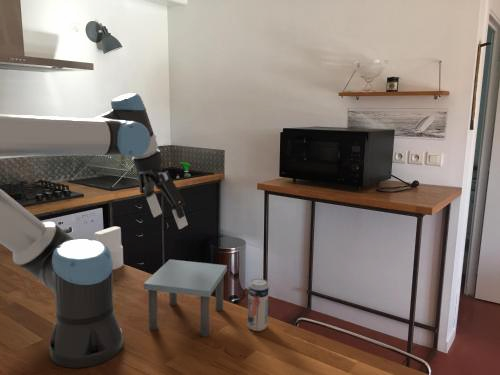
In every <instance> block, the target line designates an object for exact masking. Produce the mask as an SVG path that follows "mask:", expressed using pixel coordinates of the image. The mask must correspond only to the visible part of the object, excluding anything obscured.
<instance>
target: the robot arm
mask: <svg viewBox="0 0 500 375" xmlns="http://www.w3.org/2000/svg"><path fill="white" fill-rule="evenodd" d="M110 105H111V106H110V107H111V109H110V110H109V111H107V112H105V113H102V114H99V115H97V116H95V117H92V118H82V117H81V118H77V117H63V116H62V117H60V116H40V115H22V114H19V115H18V114H4V113H1V114H0V157H3V158H5V157H55V156H58V157H61V156H68V157H69V156H86V157H87V156H124V157H127V158H131V157H132V162H133V165H134V168H135V170H136V173H137V177H138V187H139V192H140V194H143V196H144V197H145V198H146V201H147V204H148V206H149V209H150V213H151V214H152V216H153V218H156V217H158V216H159V215H161V214H163V211H162V209H161V206H160V203H159V200H158V198H157V195H156V193H155V190H154V189H155V188H156V189H157V190H159V191H160V192H161V193H162V195H163V196H164V197H165V199H166V200H167V202H168V203H169V205H171V209H170V211H172V214H173V217H174V220H175V223H176V225H177V227H178V228H177V229H178V230H181V229H183V228H185V227H187V226H188V224H189V223H188V220H187V218H186V216H185V212H184V210H183V206H184V205H186V201H185V200H184V198H183V196H182V195H181V193H180V191H179V190H178V188H177V186H176V184H175V182H174V181H173V179H172V177H171V175H170V172H169V171H168V170H165V171H164V172H163V170H162V168H161V166H162V165H163V163H164V159H163V158H164V157H163V156H162V152H161V150H160V149H159V145H158V142H157V135H155V133H154V131H153V127H152V125H151V121H150V118H149V116H148V113H147V108H146V106H145V104H144V101H143V100H142V97H141V95H140V94H139V93H135V92H134V93H131V92H130V93H126V94H122V95H120V96H117V97H115V98H114V99H112V100H111V102H110ZM0 244H1V246H4V247H5V248H6V249H8V250H9V251H10V252H12V261H13V262H14V263H15V265H17V266H19V267H20V268H21V269H23V270H24V271H26V272H27V273H29V274H30V275H32V276H33V277H34V278H36V279H37V280H39V281H40V282H41V283H42V284H43V285H44V286H46V287H47V288H48V289H49V290H51V292H53V293H54V298H55V299H54V301H55V312H56V315H55V316H56V321H55V324H54V326H53V328H54V329H53V330H52V331H53V332H52V333H51V334H52V335H51V338H50V341H49V356H50V359H51V360H52V362H53V363H55V365H56V364H57V365H59V366H61V367H64V368H69V369H70V368H71V369H72V368H73V369H75V368H76V369H77V368H78V369H79V368H87V367H92V366H96V365H99V364H101V363H105V362H107V361H108V360H110V359H112V358H113V357H115V356H116V355H117V354H118V353H119V352H120V351H121V350H122V348H123V345H124V341H123V340H124V338H123V336H124V335H123V331H122V328H121V327H120V323H119V322H118V321H119V320H118V319H117V316H116V314H115V311H114V284H113V282H114V281H113V279H114V278H113V270H114V269H113V262H112V258H111V252H110V250H109V248H108V247H107V246H106V245H105V244H103V243H101V242H99V241H95V240H94V239H93V240H90V239H88V238H86V239H85V238H81V239H80V238H79V239H77V238H76V239H74V238H73V237H71V236H70V235H69V233H67V232H65V231H64V230H63V229H62V228H60V226H58V225H57V224H56V223H55V222H54V221H51V220H50V221H49V220H48V221H41V220H40V219H39V218H37V217H36V216H35V215H34V214H33V213H31V211H29V210H28V209H26V208H25V207H23V205H21V204H20V203H19V202H17V200H15V199H14V198H13V197H11V196H10V195H9V194H8V193H6V192H5V191H4V190H2V189H1V188H0ZM112 269H113V270H112Z"/></svg>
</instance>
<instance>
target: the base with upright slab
mask: <svg viewBox="0 0 500 375" xmlns="http://www.w3.org/2000/svg"><path fill="white" fill-rule="evenodd" d="M121 230H122V229H121V227H120V226H116V225H115V226H111V227H108V228H105V229H101V230H99V231H96V232H94V233H93V235H94V239H93V240H95V241H99V242H101V243H103V244H105V245H106V246H107V247H108V248H109V250H110V252H111V258H112V262H113V269H112V271H113V270H116V269H119V268H121V267H123V266H124V247H123V245H122V231H121Z"/></svg>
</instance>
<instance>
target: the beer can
mask: <svg viewBox="0 0 500 375" xmlns="http://www.w3.org/2000/svg"><path fill="white" fill-rule="evenodd" d="M269 286H270V285H269V283H268V282H267V280H266V279H263V278H253V279H251V281H250V283H249V284H248V296H247V297H248V300H247V303H248V304H247V327H248V328H249V329H250V330H251V331H254V332H261V331H263V330H266V329H267V327H268V309H269V308H268V307H269Z"/></svg>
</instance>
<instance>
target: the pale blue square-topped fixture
mask: <svg viewBox="0 0 500 375" xmlns="http://www.w3.org/2000/svg"><path fill="white" fill-rule="evenodd" d="M227 271H228V265H227V264H226V265H225V264H219V263H218V264H216V263H209V262H208V263H207V262H197V261H189V260H188V261H186V260H180V259H179V260H177V259H168V261H166V262H165V263H164V264H163V265H162V266H161V267H160V268H158V270H156V272H154V273H153V274H152V275H151V276H150V277H149V278H148V279H147V280H146V281H144V282H143V290H147V291H148V292H147V293H148V294H147V295H148V297H147V298H148V328H149V329H148V330H150V331H154V330H155V331H156V330H157V329H158V292H163V293H169V294H168V297H169V299H168V302H169V304H168V305H169V306H175V305H177V304H178V295H177V294H180V295H189V296H197V297H200V319H199V320H200V329H199V330H200V337H202V338H207V337H209V335H210V296H211V295H212V294H213V293H214V291H215V311H216V312H223V310H224V283H225V282H224V278H225V277H224V276H225V275H226V273H227Z"/></svg>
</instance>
